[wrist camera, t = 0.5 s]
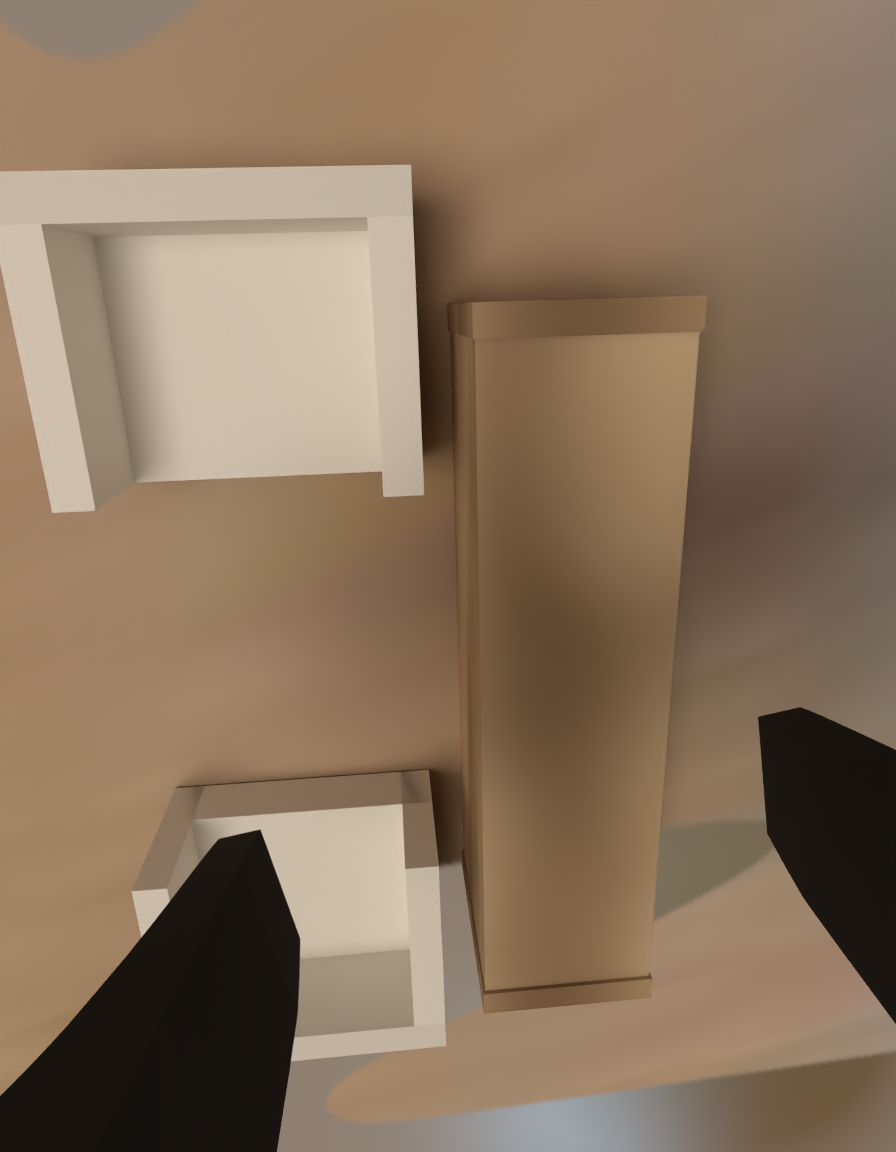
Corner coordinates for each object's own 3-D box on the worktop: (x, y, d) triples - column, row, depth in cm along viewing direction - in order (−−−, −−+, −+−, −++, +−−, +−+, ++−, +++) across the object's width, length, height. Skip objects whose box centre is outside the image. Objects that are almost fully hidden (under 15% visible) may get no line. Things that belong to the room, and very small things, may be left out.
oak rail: (620, 298, 18) (707, 295, 13) (595, 856, 23) (650, 997, 19) (447, 303, 18) (472, 302, 13) (462, 866, 23) (483, 1013, 18)
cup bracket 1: (404, 196, 17) (410, 165, 13) (415, 457, 19) (424, 495, 15) (72, 203, 16) (-19, 172, 13) (120, 470, 18) (52, 512, 14)
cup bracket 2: (428, 769, 22) (439, 866, 18) (435, 928, 24) (446, 1045, 20) (175, 788, 21) (132, 891, 17) (203, 949, 23) (169, 1073, 19)
